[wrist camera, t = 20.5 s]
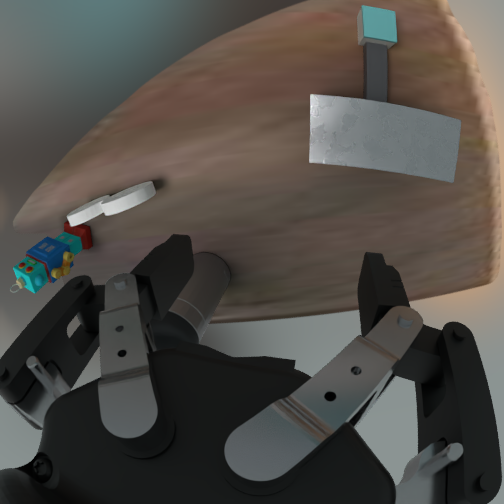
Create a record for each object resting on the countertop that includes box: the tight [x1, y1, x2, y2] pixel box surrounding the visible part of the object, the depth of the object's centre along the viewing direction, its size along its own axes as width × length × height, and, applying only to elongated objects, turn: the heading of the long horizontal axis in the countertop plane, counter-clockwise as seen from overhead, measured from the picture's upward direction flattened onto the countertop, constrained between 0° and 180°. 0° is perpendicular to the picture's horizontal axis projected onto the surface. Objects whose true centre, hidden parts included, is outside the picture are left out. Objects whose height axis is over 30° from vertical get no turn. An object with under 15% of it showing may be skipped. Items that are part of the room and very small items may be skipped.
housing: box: [309, 94, 461, 183], centre depth 31 cm, size 18×8×12 cm, turn 91°
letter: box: [67, 181, 156, 226], centre depth 48 cm, size 22×2×10 cm, turn 104°
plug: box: [357, 5, 397, 103], centre depth 30 cm, size 4×21×6 cm, turn 1°
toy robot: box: [10, 221, 93, 293], centre depth 50 cm, size 12×6×25 cm, turn 81°
